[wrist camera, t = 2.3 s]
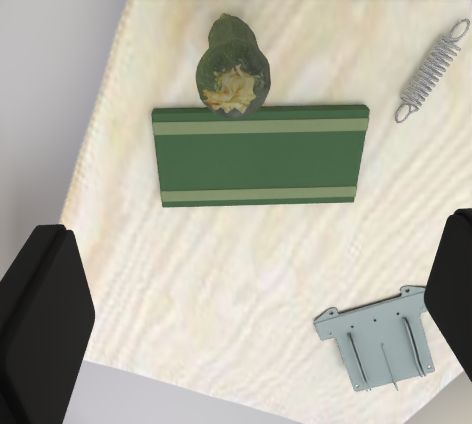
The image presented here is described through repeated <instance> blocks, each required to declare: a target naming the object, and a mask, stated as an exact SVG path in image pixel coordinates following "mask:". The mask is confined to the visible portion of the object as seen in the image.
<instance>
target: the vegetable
mask: <svg viewBox="0 0 472 424" xmlns="http://www.w3.org/2000/svg"><path fill="white" fill-rule="evenodd" d="M208 39H209V49H208V50H207V51H206V52H205V54H204V55H203V56H202V58H201V60H200V62H199V64H198V66H197V71H196V83H197V88H198V92H199V95H200V99H201V100H202V102H203V103H204V104H205V105H206V106H207V107H208V108H209V109H210V110H211V111H212V112H214V113H215V114H216V115H218V116H222V117H225V118H229V119H237V118H243V117H246V116H248V115H250V114H252V113H254V112H256V111H257V110H258V109H259V108H260V107H261V105H262V104H263V102H264V101H265V99H266V97H267V94H268V92H269V90H270V85H271V80H270V67H269V63H268V60H267V59H266V57H265V56H264V55H263V53H262V52H261V51H260V50H259V48H258V45H257V41H256V38H255V35H254V33H253V31H252V30H251V29H250V27H249V26H248V25H247V24H246V23H244V22H243V21H242V20H241V19H239V18H238V17H235V16H230V15H227V14H225V13H223V14H222V15H221V17H220V19H218V20H216V21H215V23H214V24H213V26H212V28H211V31H210V33H209V36H208Z"/></svg>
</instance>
